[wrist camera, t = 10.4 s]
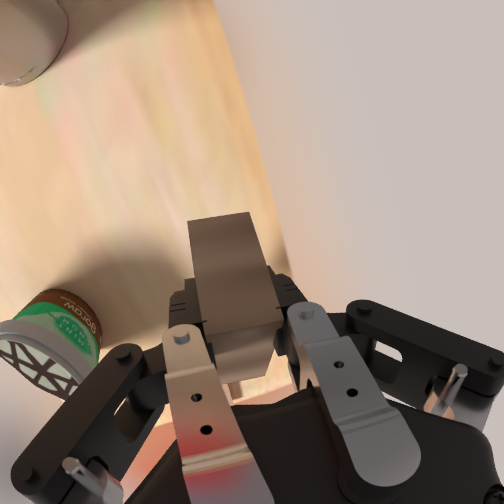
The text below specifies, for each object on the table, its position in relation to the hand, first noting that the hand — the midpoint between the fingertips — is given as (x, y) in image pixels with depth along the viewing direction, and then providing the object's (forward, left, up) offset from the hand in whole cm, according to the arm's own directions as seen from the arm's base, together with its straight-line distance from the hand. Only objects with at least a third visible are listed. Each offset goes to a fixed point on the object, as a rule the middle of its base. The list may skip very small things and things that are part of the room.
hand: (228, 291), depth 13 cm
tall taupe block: (+3, 0, -4) cm, 5 cm away
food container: (+7, -16, -14) cm, 22 cm away
